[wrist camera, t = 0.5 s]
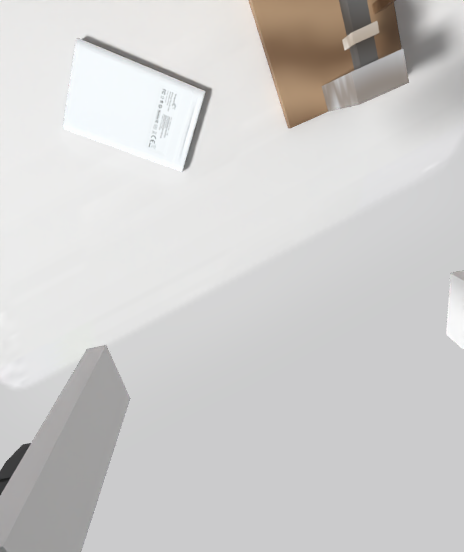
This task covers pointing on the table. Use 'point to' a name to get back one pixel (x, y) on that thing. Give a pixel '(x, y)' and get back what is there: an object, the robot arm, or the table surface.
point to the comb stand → (329, 53)
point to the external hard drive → (131, 106)
